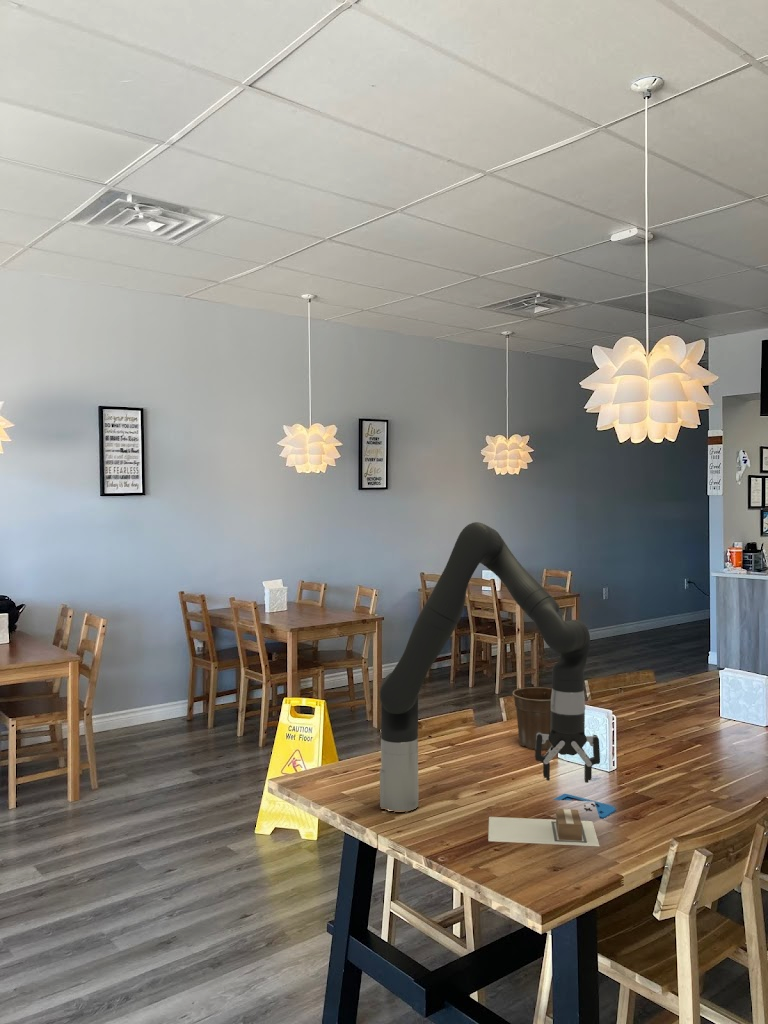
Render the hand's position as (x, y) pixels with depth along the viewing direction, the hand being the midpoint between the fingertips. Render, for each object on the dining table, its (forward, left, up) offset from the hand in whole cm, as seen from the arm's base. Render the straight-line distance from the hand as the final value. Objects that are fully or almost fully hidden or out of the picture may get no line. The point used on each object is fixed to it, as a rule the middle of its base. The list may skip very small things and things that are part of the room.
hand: (566, 780), depth 184 cm
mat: (-6, +1, -12) cm, 14 cm away
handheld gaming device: (+5, +18, -13) cm, 23 cm away
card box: (0, +1, -12) cm, 12 cm away
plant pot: (-3, +69, -13) cm, 70 cm away
